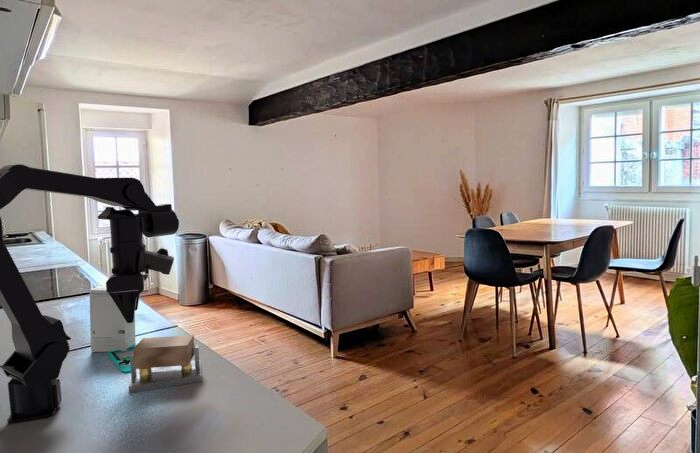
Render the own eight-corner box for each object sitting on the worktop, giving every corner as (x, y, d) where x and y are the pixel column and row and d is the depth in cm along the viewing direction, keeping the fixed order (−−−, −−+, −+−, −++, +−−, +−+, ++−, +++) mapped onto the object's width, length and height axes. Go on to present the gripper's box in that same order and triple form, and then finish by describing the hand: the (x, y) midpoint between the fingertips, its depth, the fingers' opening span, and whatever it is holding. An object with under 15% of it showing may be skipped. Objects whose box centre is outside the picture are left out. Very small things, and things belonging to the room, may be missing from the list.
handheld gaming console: (123, 370, 94) (106, 350, 106) (123, 375, 94) (106, 355, 106) (164, 360, 100) (144, 342, 111) (165, 364, 100) (145, 346, 111)
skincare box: (90, 353, 106) (85, 290, 105) (103, 343, 112) (99, 284, 111) (127, 351, 107) (123, 289, 105) (138, 342, 113) (134, 283, 111)
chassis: (128, 393, 86) (126, 364, 85) (133, 374, 94) (131, 347, 94) (201, 381, 90) (200, 353, 90) (199, 364, 99) (198, 339, 98)
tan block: (134, 368, 88) (133, 348, 88) (144, 357, 94) (142, 338, 94) (188, 365, 89) (187, 345, 89) (194, 353, 95) (193, 335, 95)
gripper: (169, 243, 86) (174, 324, 88) (171, 233, 103) (175, 300, 105) (102, 247, 82) (109, 332, 84) (116, 236, 100) (121, 306, 101)
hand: (132, 316), depth 93 cm, fingers open, 9 cm apart
